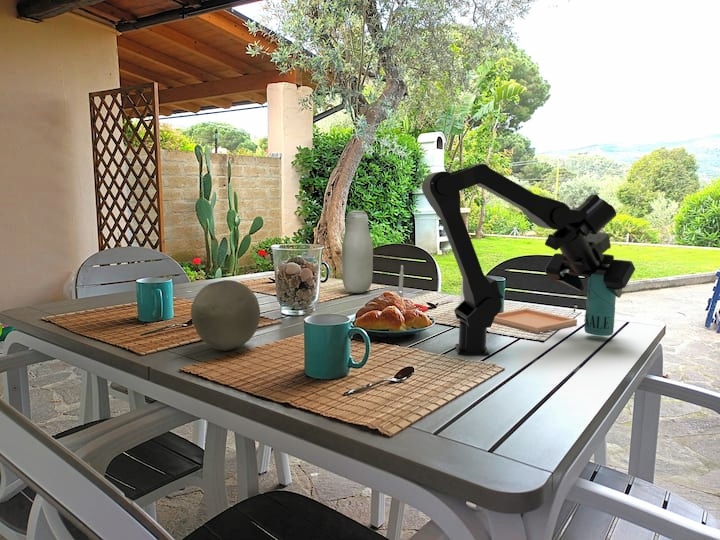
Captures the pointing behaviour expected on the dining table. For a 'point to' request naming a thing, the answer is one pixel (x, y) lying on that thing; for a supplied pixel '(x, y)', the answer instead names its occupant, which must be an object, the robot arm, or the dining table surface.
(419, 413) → the dining table surface
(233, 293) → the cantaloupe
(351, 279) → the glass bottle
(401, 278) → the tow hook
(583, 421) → the dining table surface
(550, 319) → the tray
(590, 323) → the beverage bottle
